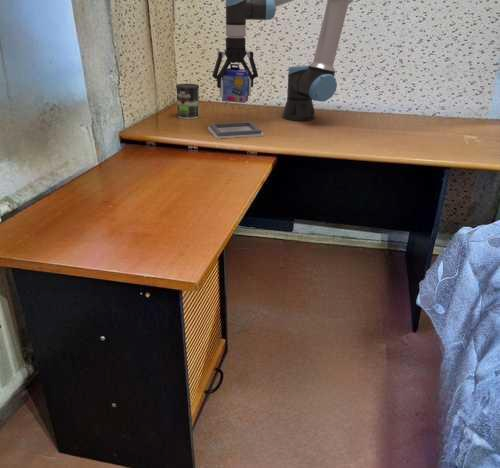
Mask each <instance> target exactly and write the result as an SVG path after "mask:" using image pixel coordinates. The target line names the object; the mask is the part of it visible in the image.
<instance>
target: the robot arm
mask: <svg viewBox="0 0 500 468" xmlns="http://www.w3.org/2000/svg"><path fill="white" fill-rule="evenodd" d="M293 1H294V0H225V4H224V5H225V36H226V37H225V50H224V51H217V59H216V62H215V66H214V67H213V73H212V78H214V79H216V85H217V86H216V87H217V89H219V97H221V98H222V97H223V80H222V76H223V75H224V73H225V71H226V70H227V68H229V66H230V64H241V65H242V67H243V69H245V70H248V74H249V84H248V97H251V96H252V88H253V87H254V79H255V78H258V77H259V73H258V69H257V66H256V63H255V60H254V52H253V51H251V50H249V51H246V34H247V33H246V32H247V30H246V29H247V28H246V27H247V26H246V25H247V21H249V20H250V21H251V20H252V21H254V20H255V21H270V20H273V19H274V18H275V16H276V13H277V11H276V9H277V7H280V6H282V5H285V4H287V3H291V2H293ZM353 2H354V0H327V1H326V7H325V10H324V14H323V19H322V24H321V27H320V32H319V36H318V40H317V45H316V49H315V53H314V57H313V62H311V63H310V64H309V65H298V66H297V65H296V66H295V65H293V66H290V67H289V68H288V72H287V91H286V92H287V97H286V102H285V106H284V108H283V109H282V118H283V119H286V120H288V121H289V120H290V121H297V122H302V121H303V122H305V121H306V122H307V121H312V120H314V119H315V117H316V112H315V108H314V103H313V101H314V102H315V101H317V102H321V103H322V102H326V101H328V100H330V99H331V98H332V97H333V96H334V94H335V93H336V90H337V88H338V83H337V80H336V78H335V74H336V69H335V67H334V63H335V58H336V55H337V51H338V46H339V43H340V39H341V36H342V35H341V34H342V32H343V28H344V24H345V19H346V15H347V12H348V11H347V10H348V7H349V5H351V4H352V3H353ZM224 56H225V57H226V60H225V62H224V64H223V66H222V67H220V66H221V64H222V60H223V58H224ZM246 57H247V58H248V60H249V64H250V67H251V69H250V68H249V66H248V64H247V63H246V60H245V58H246ZM220 68H221V69H220Z"/></svg>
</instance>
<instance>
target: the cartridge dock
mask: <svg viewBox="0 0 500 468" xmlns="http://www.w3.org/2000/svg"><path fill="white" fill-rule="evenodd" d="M207 130H208V131H209V132H210V133H212V134H213V135H212V134H211V135H212V136H213V137H214V138H216V140H222V139H221V138H227V139H236V138H235V137H243V138H254V137H255V138H257V137H265V134H264V133H263V132H262V129H260V128H259V126H257V125H256V124H255V123H253V122H252V121H239V122H236V121H235V122H221V123H220V122H218V123H210V124H209V126H207Z"/></svg>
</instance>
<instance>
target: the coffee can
mask: <svg viewBox="0 0 500 468" xmlns="http://www.w3.org/2000/svg"><path fill="white" fill-rule="evenodd" d="M175 88H176V105H177V118H179V119H183V120H195V119H199V118H200V85H199V84H196V83H179V84H176V85H175Z"/></svg>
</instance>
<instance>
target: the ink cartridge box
mask: <svg viewBox="0 0 500 468" xmlns="http://www.w3.org/2000/svg"><path fill="white" fill-rule="evenodd" d="M229 66H230V67H228V68H227V70H226V71H225V73H224V75H223V76H222V78H221V79H222V80H223V97H221V101H222V102H225V103H226V102H228V103H240V104H246V103H247V102H248V101H249V96H248V84H249V78H250V77H249V74H248V70H245V69H244V68H240V63H230V65H229Z"/></svg>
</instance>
